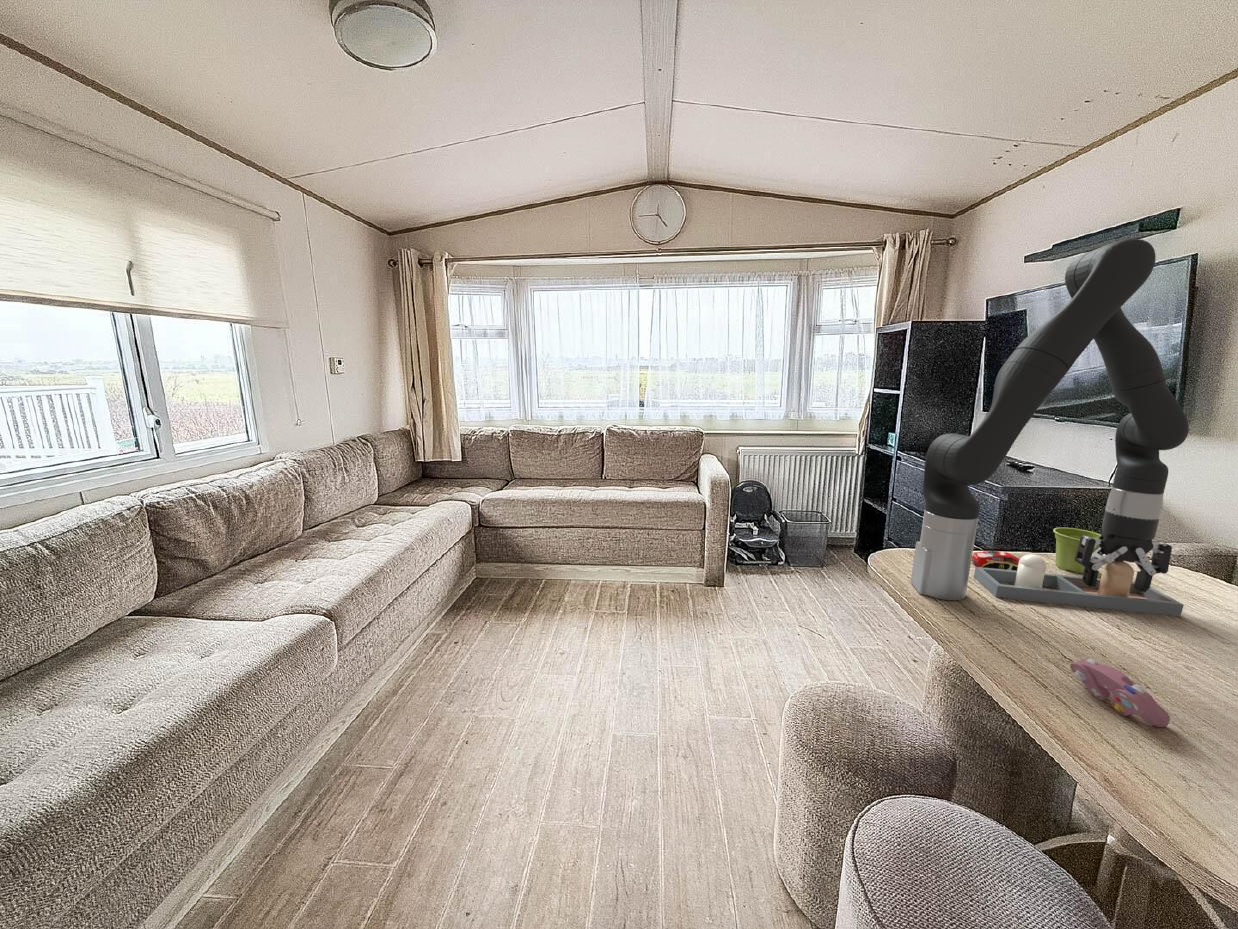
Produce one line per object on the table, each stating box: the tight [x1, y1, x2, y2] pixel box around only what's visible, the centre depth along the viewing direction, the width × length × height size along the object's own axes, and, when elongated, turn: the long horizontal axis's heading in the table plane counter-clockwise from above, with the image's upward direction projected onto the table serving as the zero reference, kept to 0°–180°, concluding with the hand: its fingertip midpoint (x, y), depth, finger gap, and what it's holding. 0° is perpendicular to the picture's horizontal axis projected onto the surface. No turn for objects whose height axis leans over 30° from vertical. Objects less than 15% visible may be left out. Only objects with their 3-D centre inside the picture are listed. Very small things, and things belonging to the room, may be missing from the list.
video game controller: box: [1069, 657, 1171, 728], centre depth 68 cm, size 10×5×7 cm, turn 5°
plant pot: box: [1052, 527, 1102, 574], centre depth 115 cm, size 9×9×9 cm
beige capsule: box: [1098, 560, 1135, 597], centre depth 100 cm, size 4×4×8 cm
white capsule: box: [1013, 553, 1047, 589], centre depth 103 cm, size 4×4×8 cm
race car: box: [971, 550, 1021, 571], centre depth 115 cm, size 13×5×4 cm, turn 68°
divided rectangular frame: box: [973, 566, 1184, 618], centre depth 102 cm, size 31×10×2 cm, turn 76°
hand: (1114, 588), depth 100 cm, fingers open, 8 cm apart
